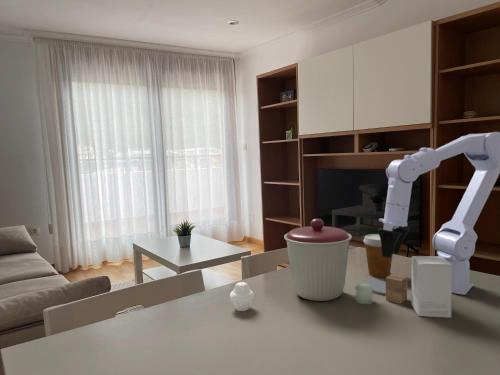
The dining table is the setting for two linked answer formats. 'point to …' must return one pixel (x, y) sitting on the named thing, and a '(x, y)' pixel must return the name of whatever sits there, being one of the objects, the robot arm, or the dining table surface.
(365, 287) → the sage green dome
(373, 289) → the slate mat
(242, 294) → the white rounded piece
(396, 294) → the walnut block
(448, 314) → the supplement box
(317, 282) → the canister
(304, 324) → the dining table surface
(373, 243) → the disposable coffee cup
